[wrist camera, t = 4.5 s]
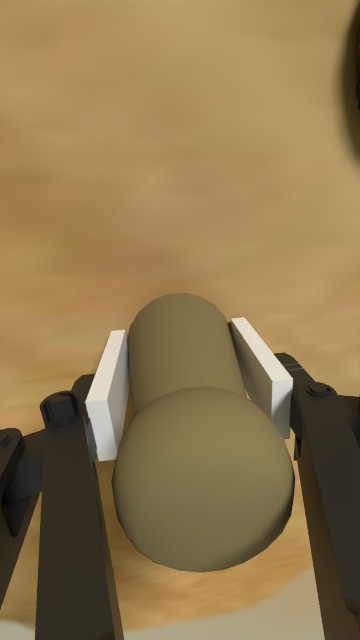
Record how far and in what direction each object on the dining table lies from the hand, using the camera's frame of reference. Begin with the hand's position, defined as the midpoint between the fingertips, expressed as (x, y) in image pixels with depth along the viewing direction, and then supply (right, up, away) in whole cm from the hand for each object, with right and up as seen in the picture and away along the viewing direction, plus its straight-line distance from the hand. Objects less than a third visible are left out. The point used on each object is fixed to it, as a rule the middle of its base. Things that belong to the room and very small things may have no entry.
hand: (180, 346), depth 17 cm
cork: (0, 0, +1) cm, 1 cm away
